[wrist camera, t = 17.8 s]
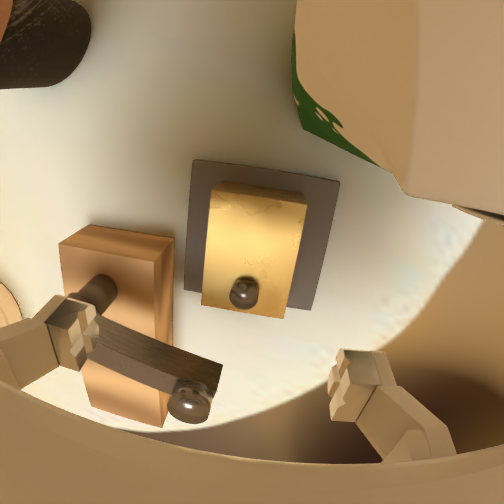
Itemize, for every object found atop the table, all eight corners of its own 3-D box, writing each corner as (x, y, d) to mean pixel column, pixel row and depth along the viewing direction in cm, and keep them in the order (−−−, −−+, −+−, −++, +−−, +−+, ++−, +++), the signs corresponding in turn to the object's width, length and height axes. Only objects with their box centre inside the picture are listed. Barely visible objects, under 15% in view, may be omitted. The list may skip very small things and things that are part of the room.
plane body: (88, 224, 22) (33, 261, 16) (174, 238, 22) (134, 284, 16) (107, 378, 28) (78, 427, 22) (173, 396, 28) (152, 452, 22)
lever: (63, 319, 17) (32, 353, 14) (64, 285, 16) (28, 317, 13) (213, 384, 17) (201, 431, 14) (226, 354, 16) (215, 402, 13)
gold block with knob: (221, 180, 19) (208, 193, 16) (303, 193, 19) (308, 209, 16) (211, 281, 22) (198, 311, 19) (283, 294, 22) (283, 326, 19)
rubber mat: (195, 159, 20) (192, 160, 19) (338, 181, 19) (340, 182, 19) (186, 285, 23) (183, 289, 23) (310, 306, 23) (310, 310, 22)
